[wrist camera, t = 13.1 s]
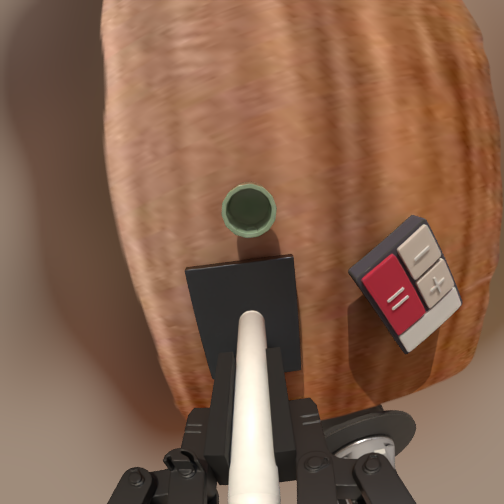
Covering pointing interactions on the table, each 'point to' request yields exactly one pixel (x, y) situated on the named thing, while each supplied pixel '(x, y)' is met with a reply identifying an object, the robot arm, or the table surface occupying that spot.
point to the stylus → (252, 420)
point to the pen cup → (249, 210)
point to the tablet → (246, 305)
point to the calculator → (408, 283)
